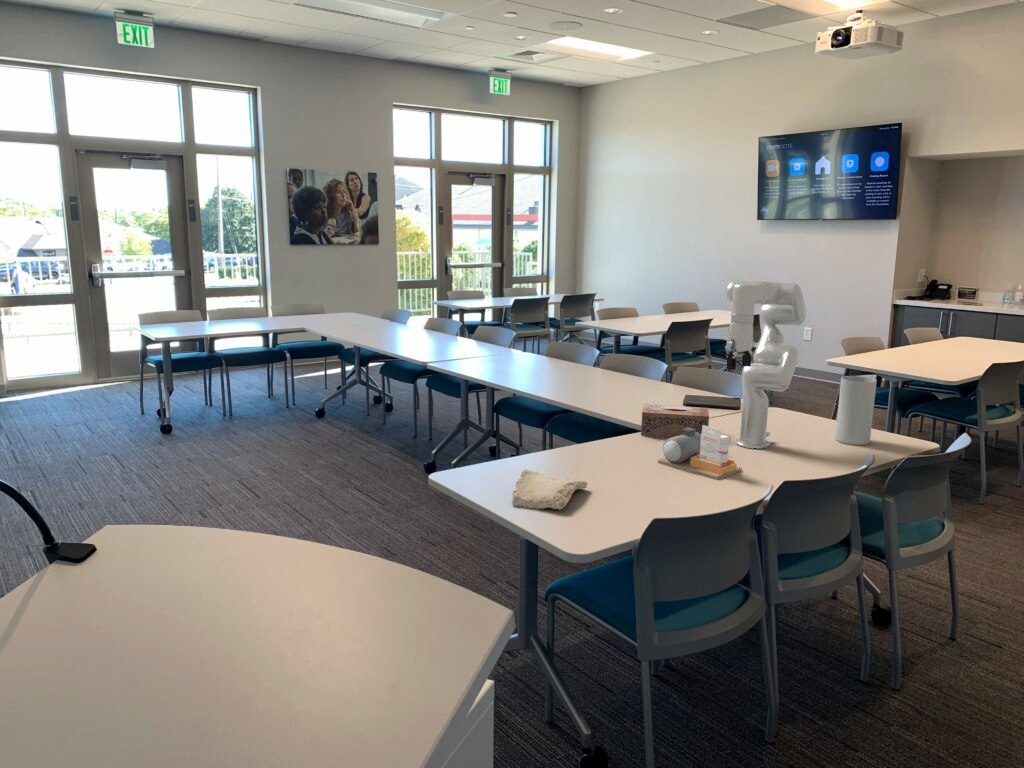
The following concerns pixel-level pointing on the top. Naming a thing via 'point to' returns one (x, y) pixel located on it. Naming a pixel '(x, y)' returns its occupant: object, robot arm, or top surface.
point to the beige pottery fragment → (544, 490)
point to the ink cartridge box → (714, 446)
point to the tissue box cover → (672, 420)
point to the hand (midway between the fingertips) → (738, 367)
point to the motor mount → (693, 456)
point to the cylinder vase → (855, 410)
